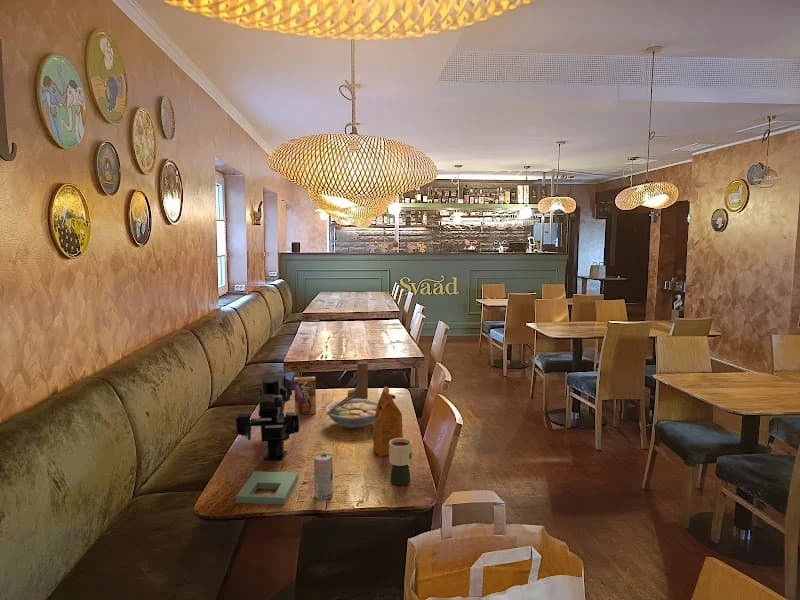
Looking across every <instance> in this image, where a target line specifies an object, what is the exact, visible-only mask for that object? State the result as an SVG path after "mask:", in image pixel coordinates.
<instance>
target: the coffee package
mask: <svg viewBox="0 0 800 600" xmlns="http://www.w3.org/2000/svg"><path fill="white" fill-rule="evenodd" d="M395 399H396V395H394V394H392V393H390V388H389V387H388V386H387V385H386V386H384V387H383V389H382V392H381V394H380V397H379V399H378V404H377V408H376V414H375V418H374V422H373V433H372V434H373V435H372V443H373V449H374V452H375V453H376V454H377V455H378V456H379V457H385V456H389V441H390V440H392V439H395V438H404V433H403V414H402V411H400V409H399V407H398V406H397V404H396V403H395V401H394V400H395Z"/></svg>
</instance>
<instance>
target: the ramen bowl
mask: <svg viewBox="0 0 800 600" xmlns="http://www.w3.org/2000/svg"><path fill="white" fill-rule="evenodd" d="M350 396H351V394H350V395H348V394H347V396H346V397H345V398H344V399H341V400H335V401H334V402H331V403H329V404H328V405H327V406H326V407H325V410H326V412H327V413H326V416H329V418H330V419H331V420H332V421H333V422H334V423H336V424H338V425H339V426H342V427H345V428H349V429H353V430H354V429H355V430H357V429H361V428H362V427H366V426H369V425H371V424H374V418H375V414H376V408H377V404H378V402H377V401H376V400H371V399H368V400H367V399H352V398H353V397H355V395H353V396H351V397H350ZM349 397H350V398H349ZM348 398H349V399H348Z"/></svg>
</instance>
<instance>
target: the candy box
mask: <svg viewBox="0 0 800 600" xmlns="http://www.w3.org/2000/svg"><path fill="white" fill-rule="evenodd" d="M293 389H294V390H293V391H294V392H293V393H294V412H297V413H298V414H299V416H300V415H312V414H313V415H314V414H316V413H317V405H316V403H317V399H316V398H317V397H316V392H317V391H316V376H297V377H294V379H293Z"/></svg>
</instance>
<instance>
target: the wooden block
mask: <svg viewBox="0 0 800 600" xmlns="http://www.w3.org/2000/svg"><path fill="white" fill-rule="evenodd" d="M356 364H357V369H356V370H357V371H356V373H357V383H356V386H355V388H354V389H349V390H347V396H348V395H350V394H351V396H353V395H355V397H353V398H352V399H367V400H369V398H368V397H369V396H368V395H369V391H368V390H369V388H368V387H369V386H368V385H369V383H368V381H369V377H368V376H369V374H368V373H369V371H368V370H369V369H368V368H369V365H368V361H357V363H356ZM351 396H350V397H351ZM350 397H349V398H350ZM349 398H348V399H349Z"/></svg>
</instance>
